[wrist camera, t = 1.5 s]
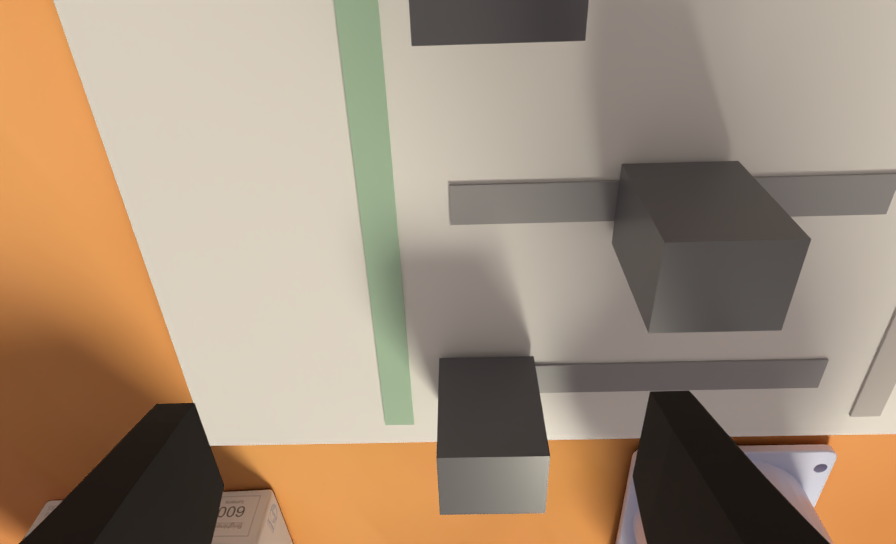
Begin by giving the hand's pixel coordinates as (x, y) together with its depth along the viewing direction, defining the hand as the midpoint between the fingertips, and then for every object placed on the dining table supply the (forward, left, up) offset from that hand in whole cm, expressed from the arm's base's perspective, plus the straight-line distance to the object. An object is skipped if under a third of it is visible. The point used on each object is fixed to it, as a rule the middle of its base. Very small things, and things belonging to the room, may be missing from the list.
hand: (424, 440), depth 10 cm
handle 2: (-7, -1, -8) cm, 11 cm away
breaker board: (0, -5, -11) cm, 12 cm away
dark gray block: (0, -6, -8) cm, 10 cm away
